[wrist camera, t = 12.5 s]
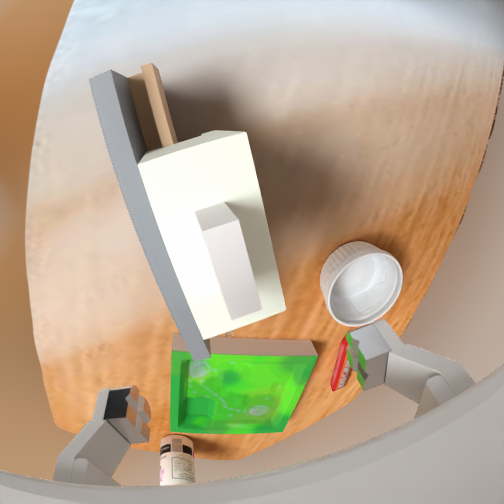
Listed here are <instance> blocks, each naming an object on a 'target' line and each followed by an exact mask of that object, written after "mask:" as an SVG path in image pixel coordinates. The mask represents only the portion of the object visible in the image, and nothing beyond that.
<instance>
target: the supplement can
mask: <svg viewBox="0 0 504 504" xmlns="http://www.w3.org/2000/svg"><path fill="white" fill-rule="evenodd" d="M189 483H196V482H195V468H194V450H193V442H192V441H191V440H190V439H189V438H187V437H185V436H182V435H174V434H173V435H168V436H165V437H164V438H163V439H161V442H160V486H161V485H177V484H189Z"/></svg>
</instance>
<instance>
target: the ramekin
mask: <svg viewBox="0 0 504 504" xmlns="http://www.w3.org/2000/svg"><path fill="white" fill-rule="evenodd" d="M320 274H321V275H320V287H321V290H322V293H323V296H324V298H325V303H326V306H327V309H328V311H329V313H330V314H331V315H332V317H333V318H334V319H335V320H336V321H337V322H339V323H341V324H343V325H346V326H362V325H366V324H369V323H371V322H373V321H375V320H377V319H378V318H380V317H381V316H383V315H384V314H385V313H386V312H387V311H388V310H389V309H390V308H391V307H392V305H393V304H394V303H395V301H396V299H397V298H398V296H399V293H400V291H401V288H402V283H403V273H402V269H401V266H400V264H399V262H398V261H397V260H396V259H395V258H394V257H393V256H392V255H391V254H390V253H388V252H386V251H384V250H381V249H379V248H377V247H376V246H374V245H372V244H370V243H367V242H362V241H356V242H350V243H347V244H344V245H342V246H340V247H339V248H337V249H336V250H335V251H334V252H332V253H331V255H330V256H329V257H328V258H327V259H326V262H325V263H324V265H323V267H322V270H321V273H320Z"/></svg>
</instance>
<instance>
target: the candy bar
mask: <svg viewBox="0 0 504 504" xmlns="http://www.w3.org/2000/svg"><path fill="white" fill-rule="evenodd" d="M348 345H349V344H348V342H347V340H346V337H345V338H344V339H343V340H342V342H341V345H340V349H339V353H338V357H337V361H336V364H335V368H334V372H333V376H332V379H331V387H332V391H335V390H338V389H340V388H342V387H344V386H346V384H347V382H348V379H349V376H350V373H351V370H352V368H351V366H350V363H349V361H348V357H347V349H346V348H347V346H348Z"/></svg>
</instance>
